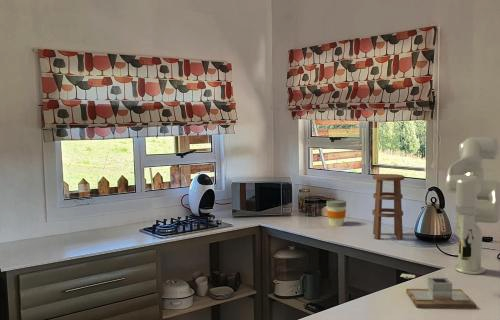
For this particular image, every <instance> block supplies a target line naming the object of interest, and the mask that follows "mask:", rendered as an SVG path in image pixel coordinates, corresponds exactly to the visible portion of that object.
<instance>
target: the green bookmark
mask: <svg viewBox="0 0 500 320" xmlns="http://www.w3.org/2000/svg"><path fill="white" fill-rule="evenodd" d="M399 277H400V278H404V279H409V280H410V279H413V278H416V274H410V273H408V274H407V273H401V275H400V276H399Z"/></svg>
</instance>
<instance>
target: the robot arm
mask: <svg viewBox="0 0 500 320" xmlns="http://www.w3.org/2000/svg"><path fill="white" fill-rule="evenodd" d="M458 154H459V159H458V160H456V161H454V162H453V163H452V164H451V165H450V166H449V167H448V169H447V172H446V178H445V189H446V191H447V192H448V193H451V194H455V214H456V215H455V223H454V225H455V226H454V235H456V237H458V257H457V263H458V264H455V265H454V270H455V271H456V272H458V273H462V274H469V275H481V274H484V273H486V272H485V271H486V269H485V268H484V267H483V266H482V253H483V252H482V251H483V250H482V249H483V231H482V229H481V227H480V226H479V225H478V223H484V224H497V223H499V222H500V181H498V180H497V179H490V178H488V179H486V178H484V177H485V171H484V168H483V167H482V165H483V160H497V159H498V158H499V157H500V142H499V140H498V138H495V137H491V136H490V137H489V136H486V137H485V136H482V137H481V136H471V137H467V138H466V139H465V140H464V141H462V142H461V143H459V145H458ZM466 238H468V239H466ZM461 240H463V245H464V247H463V250H462V256H463V257H469V260H461ZM466 241H468V242H466Z"/></svg>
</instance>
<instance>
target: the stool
mask: <svg viewBox="0 0 500 320" xmlns="http://www.w3.org/2000/svg"><path fill="white" fill-rule="evenodd" d="M372 180H375V181H376V182H375V183H376V184H375V193H373V198H374V199H375V200H374V209H372V210H371V211H372V215H373V227H372V235H374V237H373V239H374V240H378V241H379V240H381V239H382V237H381V236H382V218H394V219H393V223H394V224H393V226H394V227H393V229H394V233H393V234H395V236H396V237H395V238H396V239H397V241H403V240H404V235H403V233H404V232H403V231H404V230H403V216H404V211H403V210H402V199H403V193H402V185H401V181H404V180H405V175H404V174H396V173H395V174H394V173H378V174H377V173H376V174H373V175H372ZM384 181H387V182H391V181H393V192H389V191H388V192H386V191H385V192H384V191H383V187H384V186H383V185H384V184H383V182H384ZM383 200H384V201H385V200H386V201H393V208H391V207H390V208H388V207H387V208H386V207H385V208H382V207H383ZM396 239H395V240H396ZM402 239H403V240H402Z"/></svg>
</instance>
